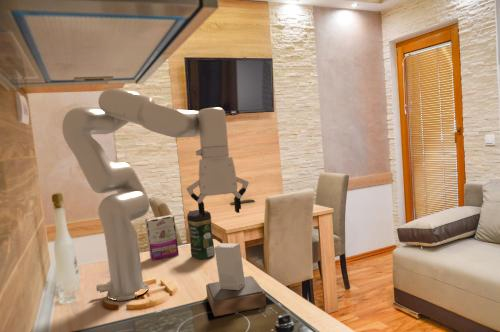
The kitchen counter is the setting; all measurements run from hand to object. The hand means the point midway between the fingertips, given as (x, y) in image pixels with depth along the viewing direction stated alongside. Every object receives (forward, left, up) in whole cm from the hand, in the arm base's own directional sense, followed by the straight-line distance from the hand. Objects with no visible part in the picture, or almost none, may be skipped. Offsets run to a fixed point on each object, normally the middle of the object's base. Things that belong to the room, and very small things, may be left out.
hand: (220, 214), depth 111 cm
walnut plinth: (+1, -2, -24) cm, 25 cm away
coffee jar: (-2, +47, -25) cm, 53 cm away
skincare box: (+1, -2, -21) cm, 21 cm away
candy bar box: (-17, +56, -25) cm, 63 cm away
